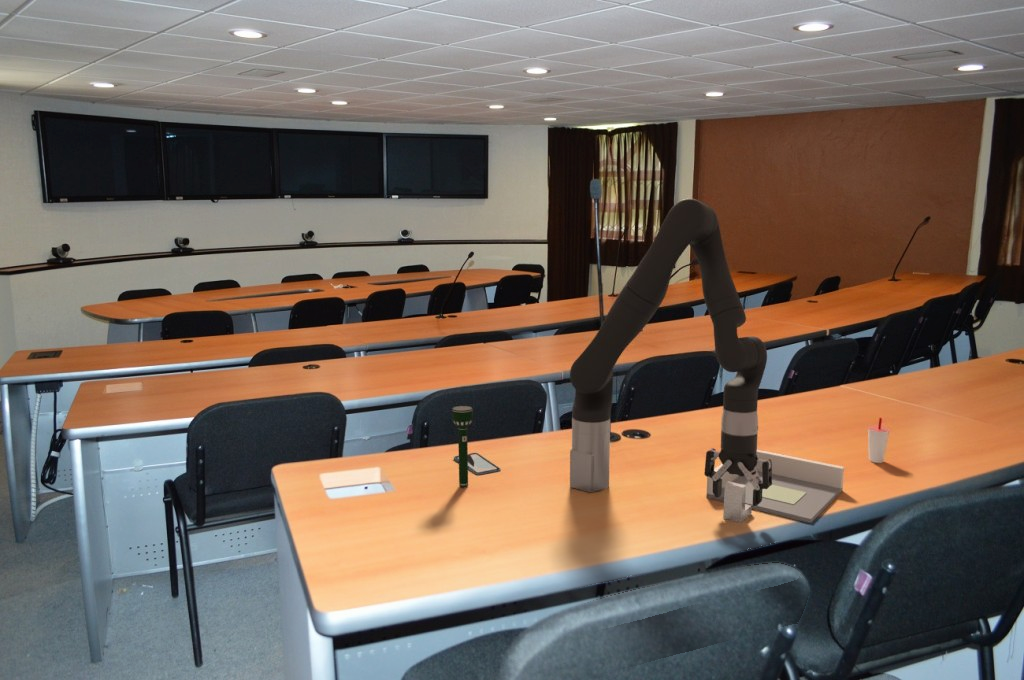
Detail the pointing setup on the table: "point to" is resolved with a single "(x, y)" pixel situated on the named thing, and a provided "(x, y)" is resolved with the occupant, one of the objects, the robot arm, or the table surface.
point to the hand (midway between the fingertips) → (736, 500)
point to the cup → (877, 442)
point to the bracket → (735, 502)
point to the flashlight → (462, 439)
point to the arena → (790, 486)
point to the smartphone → (479, 464)
